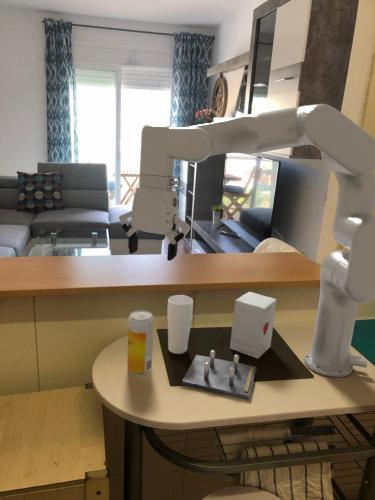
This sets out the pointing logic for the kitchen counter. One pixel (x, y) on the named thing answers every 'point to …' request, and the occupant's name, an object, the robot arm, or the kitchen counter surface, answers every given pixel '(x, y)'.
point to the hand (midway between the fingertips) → (151, 255)
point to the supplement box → (253, 324)
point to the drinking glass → (179, 322)
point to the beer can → (140, 342)
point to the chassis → (220, 376)
